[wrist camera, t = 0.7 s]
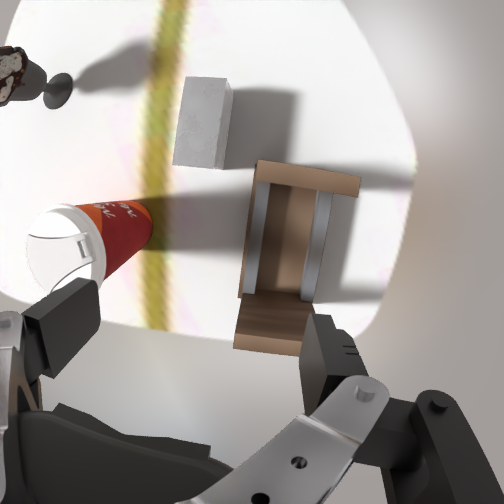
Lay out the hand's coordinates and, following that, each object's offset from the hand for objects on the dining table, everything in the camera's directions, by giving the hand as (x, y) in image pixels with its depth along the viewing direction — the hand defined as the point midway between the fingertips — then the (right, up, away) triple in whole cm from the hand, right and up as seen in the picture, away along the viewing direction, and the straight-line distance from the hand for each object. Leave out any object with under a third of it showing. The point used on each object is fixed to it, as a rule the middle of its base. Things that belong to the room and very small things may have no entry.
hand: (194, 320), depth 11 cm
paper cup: (-11, +5, +22) cm, 25 cm away
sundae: (-22, +23, +18) cm, 36 cm away
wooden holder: (+6, +4, +21) cm, 22 cm away
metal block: (-2, +15, +19) cm, 24 cm away
